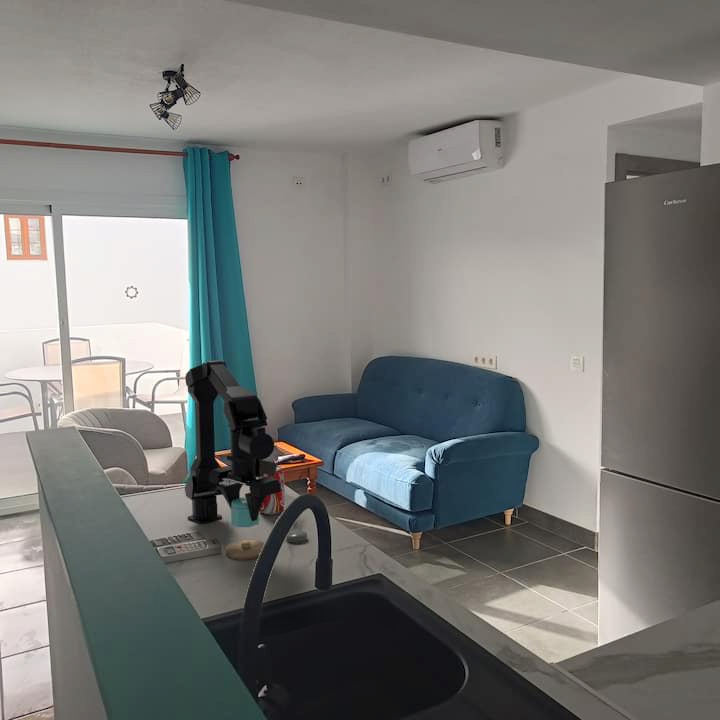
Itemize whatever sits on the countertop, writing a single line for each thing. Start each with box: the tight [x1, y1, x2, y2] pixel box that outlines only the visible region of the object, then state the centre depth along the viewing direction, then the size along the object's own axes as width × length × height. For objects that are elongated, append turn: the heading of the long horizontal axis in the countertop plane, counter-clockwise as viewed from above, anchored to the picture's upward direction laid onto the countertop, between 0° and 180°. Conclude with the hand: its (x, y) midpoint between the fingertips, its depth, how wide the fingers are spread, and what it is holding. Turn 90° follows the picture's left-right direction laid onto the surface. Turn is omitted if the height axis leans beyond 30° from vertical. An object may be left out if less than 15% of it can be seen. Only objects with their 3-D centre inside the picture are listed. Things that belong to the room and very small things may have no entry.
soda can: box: [257, 465, 285, 516], centre depth 191 cm, size 7×7×12 cm
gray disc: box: [285, 530, 308, 544], centre depth 171 cm, size 5×5×2 cm
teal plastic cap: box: [230, 497, 260, 528], centre depth 162 cm, size 6×6×5 cm
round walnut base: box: [225, 539, 265, 561], centre depth 163 cm, size 9×9×2 cm
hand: (245, 517), depth 162 cm, fingers closed on teal plastic cap, 6 cm apart
